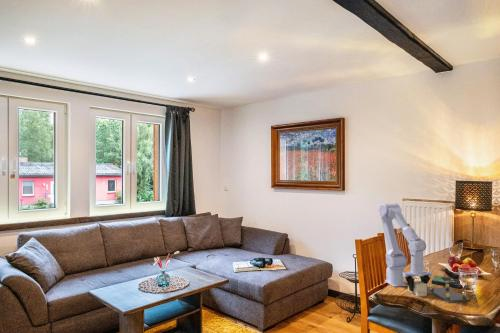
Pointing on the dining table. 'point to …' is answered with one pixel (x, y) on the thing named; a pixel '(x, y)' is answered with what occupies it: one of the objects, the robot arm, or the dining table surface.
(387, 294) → the dining table surface
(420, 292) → the module block
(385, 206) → the robot arm
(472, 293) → the dining table surface
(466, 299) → the chassis
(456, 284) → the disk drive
